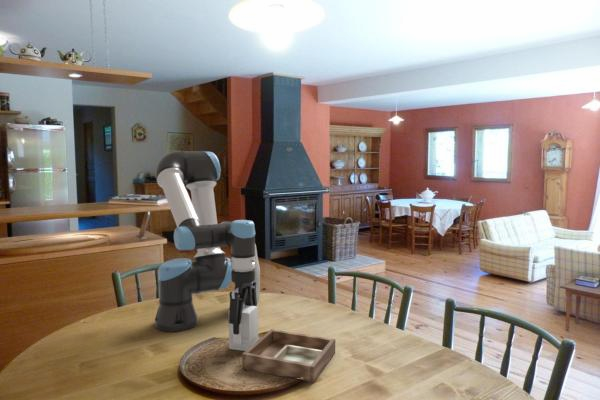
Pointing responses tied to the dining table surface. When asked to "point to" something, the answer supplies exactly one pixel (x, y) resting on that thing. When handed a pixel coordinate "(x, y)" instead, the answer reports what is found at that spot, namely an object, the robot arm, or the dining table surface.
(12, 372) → the dining table surface
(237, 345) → the supplement box
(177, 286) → the robot arm
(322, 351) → the crate
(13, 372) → the dining table surface
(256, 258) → the grey rounded cylinder
